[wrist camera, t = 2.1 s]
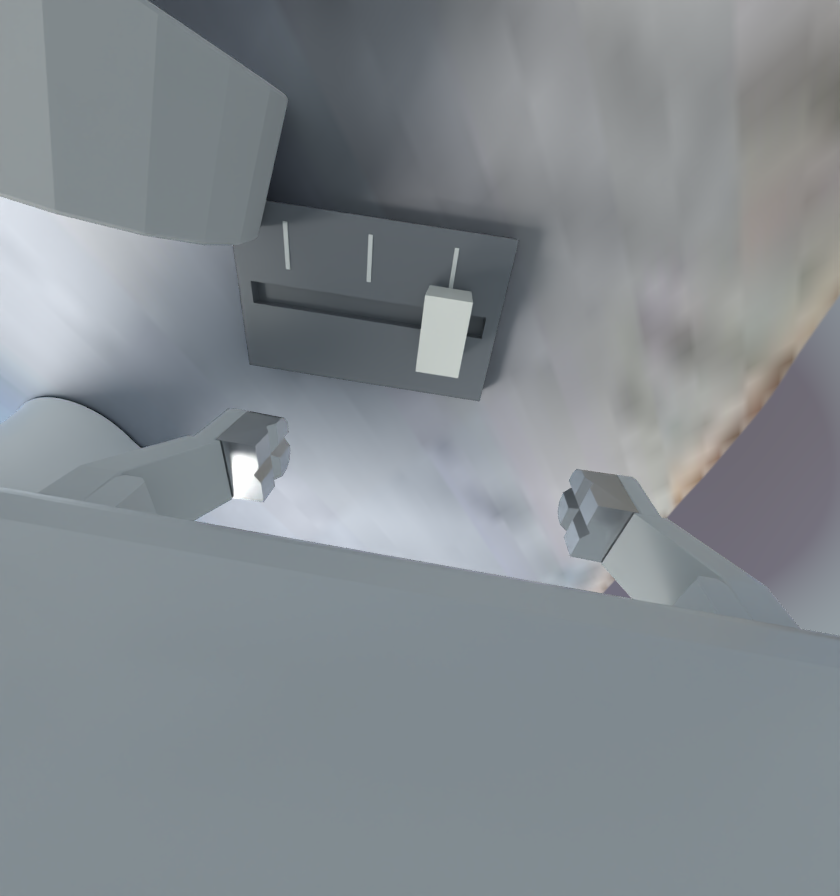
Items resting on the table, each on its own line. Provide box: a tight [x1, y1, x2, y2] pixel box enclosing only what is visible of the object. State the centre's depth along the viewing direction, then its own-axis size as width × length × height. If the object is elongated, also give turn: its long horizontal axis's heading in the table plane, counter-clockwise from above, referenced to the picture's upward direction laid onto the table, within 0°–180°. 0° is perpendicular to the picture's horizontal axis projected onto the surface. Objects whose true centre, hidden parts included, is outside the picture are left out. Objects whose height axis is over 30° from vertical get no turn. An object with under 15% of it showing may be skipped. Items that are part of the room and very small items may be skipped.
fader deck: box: [233, 200, 519, 401], centre depth 28 cm, size 12×20×2 cm, turn 82°
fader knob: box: [416, 285, 473, 378], centre depth 26 cm, size 5×3×5 cm, turn 172°
